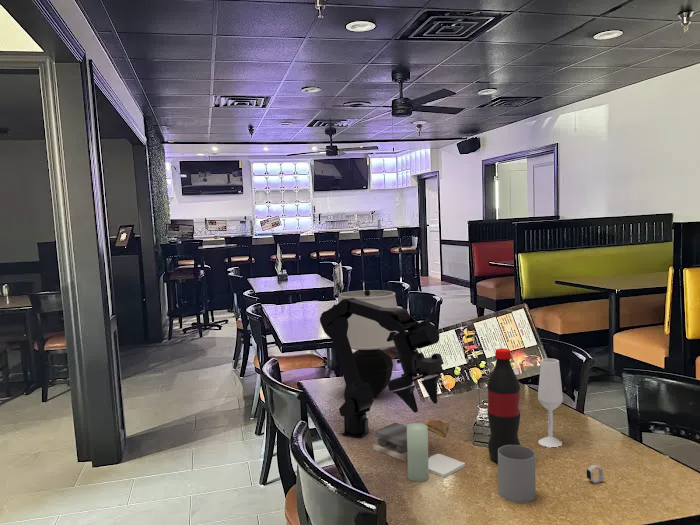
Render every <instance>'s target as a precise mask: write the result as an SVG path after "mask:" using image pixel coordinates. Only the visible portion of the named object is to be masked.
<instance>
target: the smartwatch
mask: <svg viewBox="0 0 700 525" xmlns="http://www.w3.org/2000/svg"><path fill="white" fill-rule="evenodd" d="M595 469H598V476H597V478H596V479H593V477H594V476H593V474H594V472H593V470H595ZM604 475H605V473H604V471H603V469H602V468H601V467H600V466H599V465H596V464H593V465H592V464H591V465H590V466H589V467H588V468H586V478H587V479H588V480H589V481H590V482H592V483H594V484H598V483H601V481H602V480H603V479H604ZM597 482H598V483H597Z"/></svg>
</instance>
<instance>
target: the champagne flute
mask: <svg viewBox="0 0 700 525" xmlns="http://www.w3.org/2000/svg"><path fill="white" fill-rule="evenodd" d="M560 367H561V366H560V360H558V359H556V358H550V357H548V358H542V359H541V360H540V369H539V381H538V389H537V390H538V393H537V399H538V402H539V403H540V404H541V405H542V406H543V407H544V408H545V409H546V410H547V413H548V414H547V420H548V422H547V423H548V426H547V428H548V430H547V432H548V434H547V436H544V437H542V438H540V439H539V440H538V444H539V445H541V446H543V447H545V446H546V448H551V447H557V448H559V447H558V446H561V445H562V443H563V442H562V441H561V440H559V438H556V437H554V434H553V433H554V431H553V428H554V425H553V416H554V414H553V412H554V411H553V410H555V409H557V408H558V407H559V406H560V405H561V404H562V403H563V401H564V397H563V387H562V379H561V378H562V377H561V369H560ZM561 447H562V446H561Z"/></svg>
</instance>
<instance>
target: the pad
mask: <svg viewBox="0 0 700 525" xmlns="http://www.w3.org/2000/svg"><path fill="white" fill-rule="evenodd" d="M428 467H429V473H430V474H433V475H435V476H438V477H441V478H443V479H444V478H446V477H448V476H450V475H451V474H454V473H456V472H457V471H459V470H461V469H463V468H466V463H465V462H462V461H460V460H458V459H454V458H453V457H449V456H447V455H444V454H441V453H436V454H434V455H432V456H430V457H429V456H428Z"/></svg>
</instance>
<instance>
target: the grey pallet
mask: <svg viewBox="0 0 700 525" xmlns="http://www.w3.org/2000/svg"><path fill="white" fill-rule="evenodd" d="M374 437H376V438H377V442H376V443H374V444H372V450H374V451H377V452H380V453H382V452H383V454H386V455H388V456H391V457H393V458H395V457H396V459H399V460H401V461H403V462H406V461H408V456H407V425H405V424H402V423H398V422H394V423H390V424H389V425H387V426H383V427H382V428H379V429H377V430H374Z"/></svg>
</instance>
